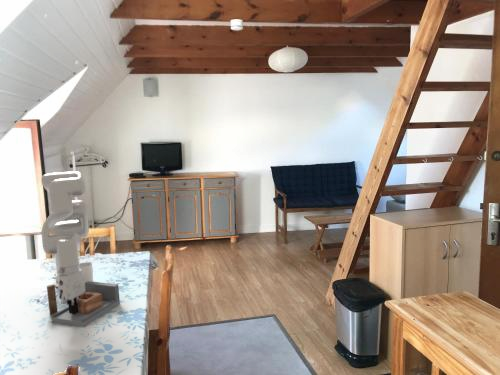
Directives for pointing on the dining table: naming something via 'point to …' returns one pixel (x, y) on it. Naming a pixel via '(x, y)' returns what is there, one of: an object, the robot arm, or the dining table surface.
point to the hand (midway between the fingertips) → (73, 313)
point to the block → (89, 302)
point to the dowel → (52, 299)
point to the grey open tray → (81, 319)
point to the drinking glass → (87, 271)
